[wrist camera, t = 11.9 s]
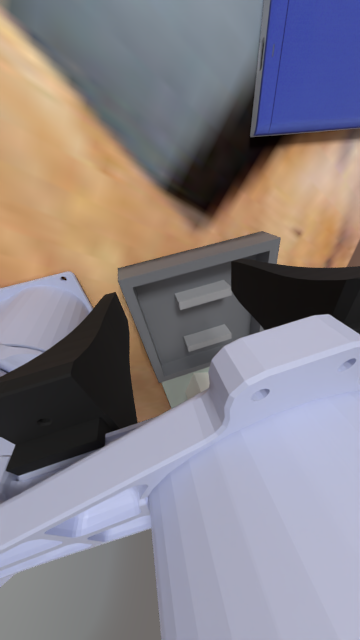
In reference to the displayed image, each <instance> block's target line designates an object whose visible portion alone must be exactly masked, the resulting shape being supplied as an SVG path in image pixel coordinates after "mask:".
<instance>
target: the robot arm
mask: <svg viewBox="0 0 360 640" xmlns="http://www.w3.org/2000/svg"><path fill="white" fill-rule="evenodd" d="M61 277H66V279H67V280H63V279H62V278H61ZM231 291H232V292H233V294H234V296H235V297H236V299H237V300H238V301H239V303H240V304H241V305H242V306H243V307H244V308H245V309H246V310H247V311H248V312H249V313H250V314H251V315H252V317H253V318H254V319H255V320H256V321H257V322H258V323H259V324H260V325H261V326H262V328H263V329H264V331H261V332H258V333H255V334H251V335H248V336H245V337H242V338H239V339H237V340H235V341H233V342H231V343H229V344H227V345H225V346H224V347H223V348H222V349H221V350H220V351H219V352H218V353H217V354H216V355H215V356H214V357H213V359H212V360H211V364H210V368H209V371H208V374H209V382H210V384H209V388H207V389H206V390H204V391H202V392H200V393H199V394H197V395H195V396H193V397H191V398H190V399H188V400H186V401H184V402H182V403H181V404H179V405H177V406H175V407H173V408H172V409H170V410H168V411H166V412H165V413H163V414H161V415H159V416H157V417H154V418H151V419H148V420H145V421H142V422H139V423H137V417H136V411H135V404H134V398H133V390H132V383H131V375H130V363H129V326H128V320H127V317H126V315H125V313H124V310H123V308H122V306H121V303H120V301H119V299H118V297H117V294H116V292H114V293H110V294H106V295H104V296H103V298H102V299H101V300H100V301H99V302H98V304H97V305H96V306H95V307H94V309H93V307H92V305H91V304H90V302H89V300H88V298H87V296H86V294H85V293H84V291H83V289H82V287H81V285H80V283H79V282H78V280H77V278H76V276H75V275H74V273H72V272H69V271H68V272H63V273H59V274H55V275H51V276H47V277H43V278H40V279H36V280H32V281H28V282H24V283H20V284H16V285H12V286H8V287H4V288H0V587H1V586H2V585H3V584H5V582H7V581H8V580H9V579H10V578H11V577H12V576H13V575H15V574H16V573H18V572H22V571H24V570H27V569H30V568H33V567H36V566H39V565H41V564H44V563H47V562H50V561H52V560H56V559H59V558H62V557H65V556H68V555H70V554H74V553H77V552H80V551H83V550H86V549H89V548H92V547H95V546H98V545H102V544H105V543H108V542H111V541H114V540H117V539H120V538H123V537H126V536H129V535H132V534H135V533H139V532H142V531H145V530H148V529H152V540H153V550H154V561H155V571H156V572H155V573H156V584H157V594H158V605H159V616H160V627H161V639H162V640H360V266H358V267H343V268H307V267H294V266H286V265H278V264H272V263H267V262H261V261H256V260H250V259H238V260H234V261H231Z"/></svg>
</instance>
